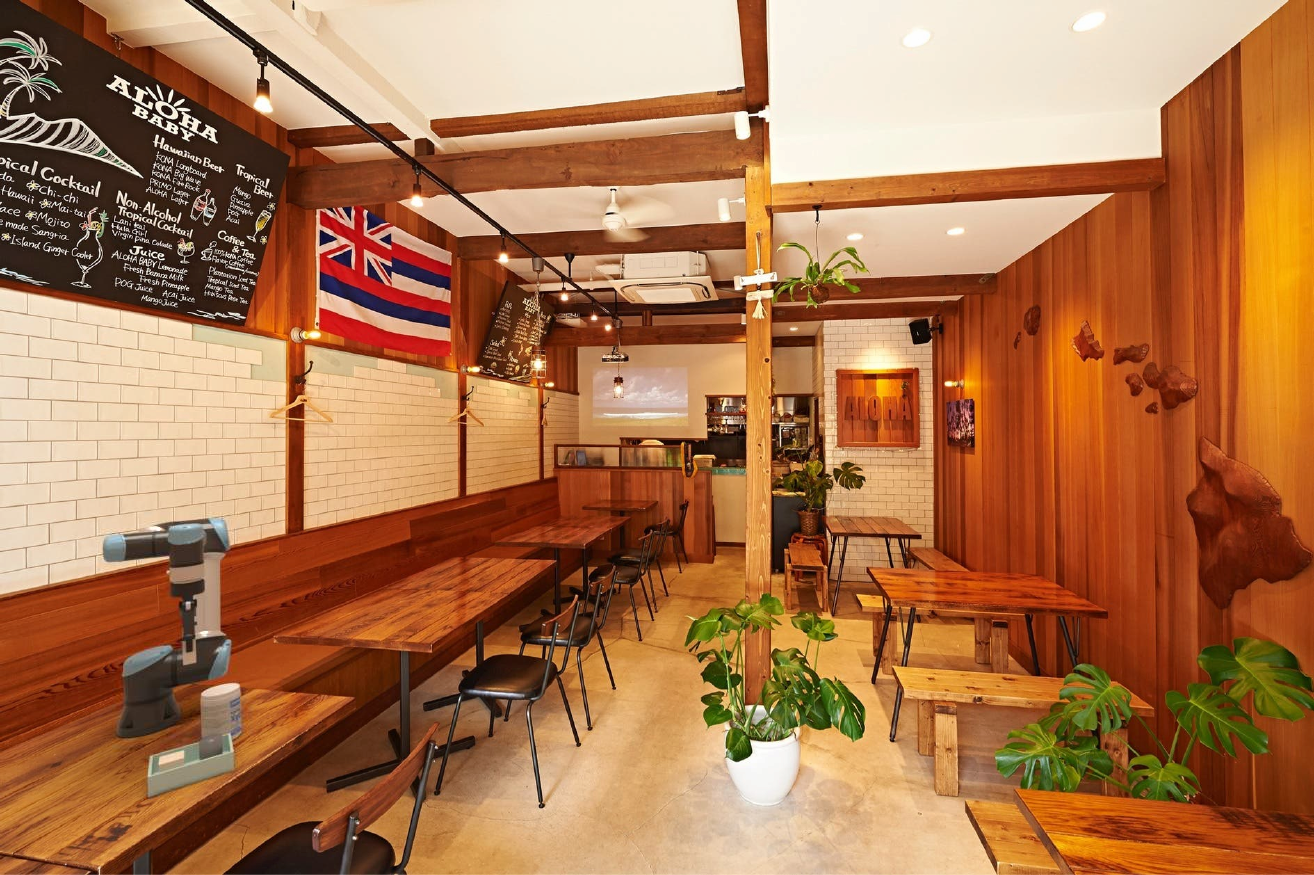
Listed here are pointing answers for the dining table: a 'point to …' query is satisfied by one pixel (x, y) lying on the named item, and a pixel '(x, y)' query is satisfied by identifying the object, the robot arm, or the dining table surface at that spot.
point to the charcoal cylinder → (210, 746)
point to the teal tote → (189, 767)
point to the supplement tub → (221, 710)
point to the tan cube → (171, 761)
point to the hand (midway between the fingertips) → (189, 656)
